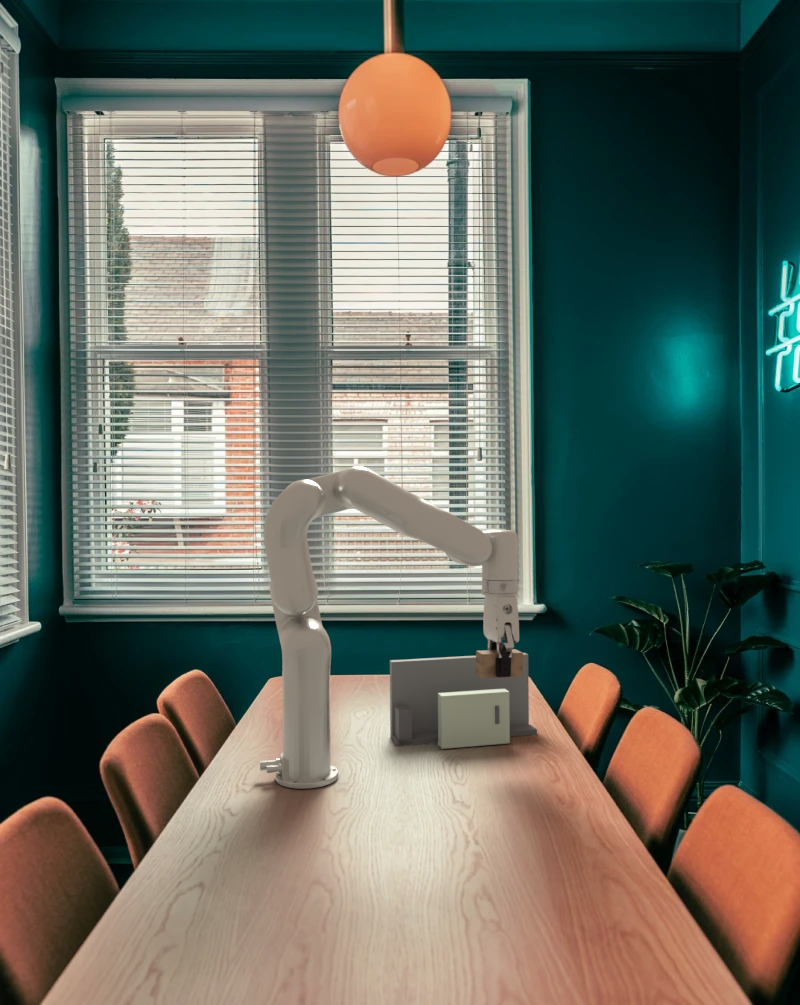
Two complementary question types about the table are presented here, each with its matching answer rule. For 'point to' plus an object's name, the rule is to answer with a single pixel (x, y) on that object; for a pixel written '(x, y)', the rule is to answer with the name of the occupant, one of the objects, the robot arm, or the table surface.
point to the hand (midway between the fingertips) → (499, 673)
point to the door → (473, 718)
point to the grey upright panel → (430, 676)
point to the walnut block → (488, 663)
